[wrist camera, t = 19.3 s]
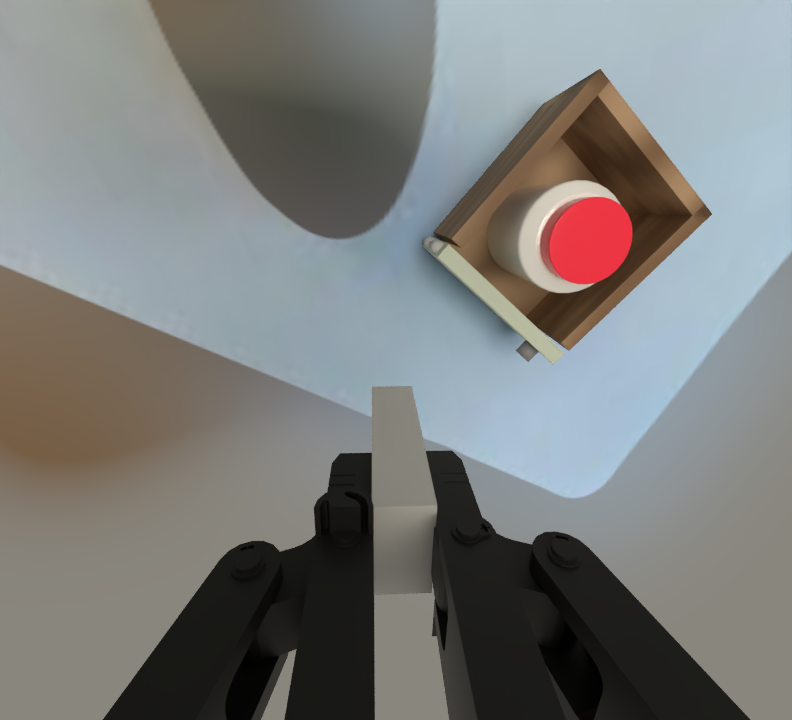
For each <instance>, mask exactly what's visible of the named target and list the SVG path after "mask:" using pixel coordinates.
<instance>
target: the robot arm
mask: <svg viewBox="0 0 792 720" xmlns="http://www.w3.org/2000/svg"><path fill="white" fill-rule="evenodd" d="M314 515H315V531H316V535H315V536H314V537H313V538H312V539H311V540H309V541H307V542H306V543H304V544H302V545H300V546H297V547H295V548H292V549H289V550H285V551H281V552H279V550H277V548H276V547H275V546H274V545H273V544H270V543H267V542H265V541H251V542H247V543H244V544H240V545H238V546H237V547H235V548H233V549H231V550H230V551H228V552H227V554H225V555H224V556H223V557H222V558H221V559H220V561H219V562H218V563H217V565H216V566H215V568H214V569H213V570H212V571H211V573H210V574H209V575H208V577H207V578H206V580H205V581H204V583H203V584H202V585H201V586H200V588H199V589H198V591H197V592H196V593H195V595H194V596H193V597H192V599H191V600H190V601H189V603H188V604H187V606H186V607H185V609H184V610H183V611H182V612H181V614H180V615H179V616H178V618H177V619H176V621H175V622H174V624H173V625H172V626H171V627H170V629H169V630H168V631H167V633H166V634H165V636H164V637H163V638H162V640H161V641H160V642H159V644H158V645H157V646H156V648H155V649H154V651H153V652H152V653H151V655H150V656H149V657H148V659H147V660H146V662H145V663H144V664H143V666H142V667H141V668H140V670H139V671H138V673H137V674H136V675H135V677H134V678H133V679H132V681H131V682H130V683H129V685H128V686H127V687H126V689H125V690H124V692H123V693H122V694H121V696H120V697H119V698H118V700H117V701H116V702H115V704H114V705H113V707H112V708H111V709H110V711H109V712H108V713H107V715H106V716H105V717H104V719H103V720H261V718H262V716H263V713H264V711H265V708H266V706H267V704H268V701H269V699H270V697H271V694H272V692H273V690H274V687H275V685H276V682H277V680H278V678H279V675H280V673H281V671H282V668H283V666H284V663H285V661H286V659H287V656H288V652H290V651H292V650H295V649H297V650H296V656H295V661H294V667H293V673H292V679H291V685H290V691H289V696H288V703H287V709H286V714H285V720H375V711H374V710H375V708H374V707H375V701H374V700H375V698H374V697H375V696H374V595H380V594H407V593H408V594H409V593H431V591H432V582H433V588H434V595H435V603H434V604H435V605H434V618H433V632H432V636H437V638H438V645H439V652H440V658H441V666H442V672H443V680H444V686H445V693H446V700H447V707H448V714H449V720H750V719H749V718H748V717H747V716H746V715H745V714H744V713H743V711H742V710H741V709H740V708H739V707H738V706H737V705H736V704H735V703H734V702H733V701H732V700H731V699H730V698H729V697H728V695H727V694H726V693H725V692H724V691H723V690H722V689H721V688H720V687H719V686H718V685H717V684H716V683H715V682H714V681H713V680H712V678H711V677H710V676H708V674H707V673H706V672H705V671H704V670H703V669H702V668H701V667H700V666H699V665H698V664H697V662H695V660H693V658H691V656H690V655H689V654H688V653H687V652H686V651H685V650H684V649H683V648H682V647H681V646H680V644H679V643H678V642H677V641H676V640H675V639H674V638H673V637H672V636H671V635H670V634H669V633H668V632H667V631H666V630H665V629H664V627H663V626H662V625H661V624H660V623H659V622H658V621H657V620H656V619H655V618H654V617H653V616H652V615H651V614H650V613H649V611H648V610H647V609H646V608H645V607H644V606H643V605H642V604H641V603H640V602H639V601H638V600H637V599H636V598H635V597H634V596H633V595H632V593H631V592H630V591H629V590H628V589H627V588H626V587H625V586H624V585H623V584H622V583H621V582H620V581H619V580H618V579H617V578H616V576H615V575H613V573H612V572H611V571H610V570H609V569H608V568H607V567H606V566H605V565H604V564H603V563H602V562H601V560H600V559H599V558H598V557H597V556H596V555H595V554H594V553H593V552H592V551H591V550H590V549H589V548H588V547H587V546H586V545H584V544H583V543H582V542H581V541H580V540H578V539H576V538H574V537H572V536H570V535H568V534H564V533H559V532H545V533H543V534H540V535H538V536H537V537H536V538H535V540H534V542H533V544H532V545H531V544H527V543H522V542H518V541H514V540H511V539H508V538H505V537H503V536H501V535H499V534H497V533H496V532H495V530H494V529H493V527H492V525H491V524H490V523H489V522H488V521H486V520H485V519H483V518H482V516H481V513H480V510H479V508H478V505H477V502H476V499H475V496H474V493H473V491H472V488H471V485H470V483H469V479H468V476H467V474H466V471H465V468H464V465H463V462H462V460H461V459H460V458H459V457H458V456H457V455H456V454H455V453H454V452H453V451H425V446H424V442H423V437H422V432H421V428H420V423H419V418H418V414H417V409H416V405H415V400H414V395H413V391H412V386H398V387H372V453H341V454H339V456H338V457H337V458H336V459H335V461H334V462H333V463H332V467H331V473H330V479H329V487H328V492H327V493H325V494H324V495H323V496H322V497H320V498H319V499H318V500H317V502H316V504H315V507H314Z"/></svg>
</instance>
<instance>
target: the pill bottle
mask: <svg viewBox="0 0 792 720" xmlns="http://www.w3.org/2000/svg"><path fill="white" fill-rule="evenodd" d="M632 231H633V230H632V224H631V220H630V218H629V215H628V213H627V212H626V210H625V209H624V208H623V207H622V206H621V204H620V202H619V201H618V200H617V198H616V197H615V195H614V194H613V193H612V192H610V191H609V190H608V189H607V188H605V187H604V186H602V185H600V184H598V183H595V182H591V181H587V180H572V181H565V182H558V183H551V184H544V185H537V186H531V187H525V188H522V189H519V190H517V191H514V192H513V193H511V194H510V195H509V196H508V197H507V198H506V199H505V200H504V201H503V202H502V204H501V205H500V206H499V207H498V208H497V209H496V210H495V212H494V213H493V214H492V216H491V218H490V222H489V225H488V230H487V243H488V248H489V251H490V254H491V256H492V258H493V260H494V261H495V262H496V263H497V265H498V266H499V267H500V268H502V269H503V270H504V271H506V272H508V273H510V274H512V275H514V276H517V277H519V278H521V279H523V280H525V281H527V282H529V283H532V284H534V285H536V286H538V287H540V288H542V289H544V290H547V291H550V292H555V293H572V292H577V291H580V290H583V289H585V288H588V287H590V286H591V285H593V284H595V283H596V282H599V281H601V280H603V279H605V278H607V277H608V276H610V275H611V274H612V273H614V272H615V271H616V270H617V269H618V268H619V266H620V265H621V264H622V263H623V261H624V260H625V258H626V256H627V254H628V252H629V249H630V247H631V242H632Z"/></svg>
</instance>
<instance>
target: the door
mask: <svg viewBox="0 0 792 720" xmlns="http://www.w3.org/2000/svg"><path fill="white" fill-rule="evenodd" d="M423 244H424V246H423V247H424V248H425V249H426V250H427V251H428V252H429V253H430V254H431V255H433V256H434V257H435V258H436V259H437V260H438V261H439V262H440V263H441V264H442V265H443V266H444V267H446V268H447V269H448V270H449V271H450V272H451V273H452V274H453V275H454V276H455V277H456V278H458V279H459V280H460V281H461V282H462V283H463V284H464V285H465V286H466V287H467V288H468V289H470V290H471V291H472V292H473V293H474V294H475V295H476V296H477V297H478V298H479V299H480V300H481V301H483V302H484V303H485V304H486V305H487V306H488V307H489V308H490V309H491V310H492V311H493V312H495V313H496V314H497V315H498V316H499V317H500V318H501V319H502V320H503V321H504V322H505V323H507V324H508V325H509V326H510V327H511V328H512V329H513V330H514V331H515V332H516V333H517V334H519V335H520V336H521V337H522V338H523V339H524V340H526V341H525V342H524V343H523V344H522V345H521V346H520V347H519V348H518V349H517V350H516V351H517V352H518V353H519V354H520V355H521V356H522V357H523V358H524V359H526V360H527V361H528V362H529V361H530V360H531V359H532V358H533V357H534V356H535V355H536V354H537V353H538V352H540V353H541V354H542V355H543V356H544V357H545V358H547V359H548V360H549V361H550V362H551V363H552V364H554V363H555V362H556V361H557V360H558V359H559V358H560V357H561V356H562V355H564V354H565V353H564V352H562V351H561V350H560V349H559V348H558V347H557V346H556V345H555V344H554V343H553V342H552V341H551V340H550V339H549V338H548V337H547V336H545V335H544V334H543V333H542V332H541V331H540V330H539V329H538V328H537V327H536V326H535V325H534V324H533V323H532V322H531V321H530V320H529V319H527V318H526V317H525V316H524V315H523V314H522V313H521V312H520V311H519V310H518V309H517V308H516V307H515V306H514V305H513V304H512V303H511V302H509V301H508V300H507V299H506V298H505V297H504V296H503V295H502V294H501V293H500V292H499V291H498V290H497V289H496V288H495V287H494V286H492V285H491V284H490V283H489V282H488V281H487V280H486V279H485V278H484V277H483V276H482V275H481V274H480V273H479V272H478V271H477V270H476V269H474V268H473V267H472V266H471V265H470V264H469V263H468V262H467V261H466V260H465V259H464V258H463V257H462V256H461V255H460V254H459V253H458V252H456V251H455V250H454V249H453V248H452V247H451V246H450V245H449V244H447V243H445V242H443V241H441V240H438V239H436V238H434V237H429V236H428V237H425V238H424V240H423Z"/></svg>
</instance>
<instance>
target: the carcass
mask: <svg viewBox="0 0 792 720" xmlns="http://www.w3.org/2000/svg"><path fill="white" fill-rule="evenodd" d="M572 180H587V181H591V182H595V183H598V184H600V185H602V186H604V187H605V188H607V189H608V190H609V191H610V192H612V193H613V194H614V195H615V197H616V198H617V200H618V201H619V202H620V204H621V206H622V207H623V208H624V209H625V210H626V212H627V213H628V215H629V218H630V220H631V224H632V230H633V231H632V242H631V247H630V249H629V252H628V254H627V256H626V258H625V260H624V261H623V263H622V264H621V265H620V266H619V268H618V269H617V270H616V271H615V272H614V273H612V274H611V275H610V276H608V277H607V278H605V279H603V280H601V281H599V282H596V283H595V284H593V285H591V286H590V287H588V288H585V289H583V290H580V291H577V292H572V293H555V292H550V291H547V290H544V289H542V288H540V287H538V286H536V285H534V284H532V283H529V282H527V281H525V280H523V279H521V278H519V277H517V276H514V275H512V274H510V273H508V272H506V271H504V270H503V269H502V268H500V267H499V266H498V265H497V263H496V262H495V261H494V260H493V258H492V256H491V254H490V251H489V248H488V243H487V230H488V225H489V222H490V218H491V216H492V214H493V213H494V212H495V210H496V209H497V208H498V207H499V206H500V205H501V204H502V202H503V201H504V200H505V199H506V198H507V197H508V196H509V195H510V194H511V193H513V192H514V191H517V190H519V189H522V188H525V187H531V186H537V185H544V184H551V183H558V182H565V181H572ZM711 215H712V213H711V212H710V211H709V209H708V208H707V207H706V205H705V204H704V203H703V201H702V200H701V199H700V198H699V196H698V195H697V194H696V192H695V191H694V190H693V188H692V187H691V186H690V185H689V183H688V182H687V181H686V179H685V178H684V177H683V176H682V174H681V173H680V172H679V170H678V169H677V168H676V166H675V165H674V164H673V163H672V161H671V160H670V159H669V157H668V156H667V155H666V153H665V152H664V151H663V150H662V148H661V147H660V146H659V144H658V143H657V142H656V141H655V139H654V138H653V137H652V135H651V134H650V133H649V131H648V130H647V129H646V128H645V126H644V125H643V124H642V122H641V121H640V120H639V119H638V117H637V116H636V115H635V113H634V112H633V111H632V109H631V108H630V107H629V106H628V104H627V103H626V102H625V100H624V99H623V98H622V96H621V95H620V94H619V93H618V91H617V90H616V89H615V87H614V86H613V85H612V84H611V82H610V81H609V80H608V78H607V77H606V76H605V74H604V73H603V72H602V71H601V69H599V70H597V71H596V72H594V73H593V74H591V75H589V76H588V77H586V78H585V79H583V80H581V81H580V82H578V83H576V84H575V85H573V86H572V87H570V88H568V89H567V90H565V91H564V92H562V93H560V94H559V95H557V96H555V97H554V98H552V99H551V100H549V101H547V102H546V103H544V104H543V105H542V106H541V107H540V108H539V110H538V111H537V112H536V113H535V114H534V115H533V117H532V118H531V119H530V120H529V121H528V122H527V124H526V125H525V126H524V127H523V128H522V129H521V131H520V132H519V133H518V134H517V135H516V136H515V138H514V139H513V140H512V141H511V142H510V143H509V145H508V146H507V147H506V148H505V149H504V150H503V152H502V153H501V154H500V155H499V156H498V157H497V159H496V160H495V161H494V162H493V163H492V164H491V166H490V167H489V168H488V169H487V170H486V171H485V173H484V174H483V175H482V176H481V177H480V178H479V180H478V181H477V182H476V183H475V184H474V185H473V187H472V188H471V189H470V190H469V191H468V192H467V194H466V195H465V196H464V197H463V198H462V199H461V201H460V202H459V203H458V204H457V205H456V207H455V208H454V209H453V210H452V211H451V212H450V214H449V215H448V216H447V217H446V218H445V219H444V221H443V222H442V223H441V224H440V225H439V226H438V228H437V229H436V230H435V231H434V233H435V234H436V235H437V236H438V237H439V238H440V239H442V240H443V241H444V242H445V243H447V244H449V245H450V246H451V247H452V248H453V249H454V250H455V251H456V252H458V253H459V254H460V255H461V256H462V257H463V258H464V259H465V260H466V261H467V262H468V263H469V264H470V265H471V266H472V267H473V268H474V269H476V270H477V271H478V272H479V273H480V274H481V275H482V276H483V277H484V278H485V279H486V280H487V281H488V282H489V283H490V284H491V285H492V286H494V287H495V288H496V289H497V290H498V291H499V292H500V293H501V294H502V295H503V296H504V297H505V298H506V299H507V300H508V301H509V302H511V303H512V304H513V305H514V306H515V307H516V308H517V309H518V310H519V311H520V312H521V313H522V314H523V315H524V316H525V317H526V318H527V319H529V320H530V321H531V322H532V323H533V324H534V325H535V326H536V327H537V328H538V329H540V330H541V331H542V332H544V333H545V334H546V335H548V336H549V337H551V338H552V339H553V340H555V341H556V342H558V343H559V344H560V345H562V346H563V347H564V348H566V349H567V350H570V349H571V348H572V347H573V346H575V345H576V344H577V343H578V342H579V341H580V340H581V339H582V338H583V337H584V336H585V335H586V334H587V333H588V332H589V331H590V330H591V329H592V328H593V327H594V326H595V325H597V324H598V323H599V322H600V321H601V320H602V319H603V318H604V317H605V316H606V315H607V314H608V313H609V312H610V311H611V310H612V309H613V308H614V307H615V306H616V305H617V304H619V303H620V302H621V301H622V300H623V299H624V298H625V297H626V296H627V295H628V294H629V293H630V292H631V291H632V290H633V289H634V288H635V287H636V286H637V285H638V284H639V283H641V282H642V281H643V280H644V279H645V278H646V277H647V276H648V275H649V274H650V273H651V272H652V271H653V270H654V269H655V268H656V267H657V266H658V265H659V264H660V263H661V262H662V261H664V260H665V259H666V258H667V257H668V256H669V255H670V254H671V253H672V252H673V251H674V250H675V249H676V248H677V247H678V246H679V245H680V244H681V243H682V242H683V241H684V240H686V239H687V238H688V237H689V236H690V235H691V234H692V233H693V232H694V231H695V230H696V229H697V228H698V227H699V226H700V225H701V224H702V223H703V222H704V221H705V220H706V219H708V218H709V217H710V216H711Z"/></svg>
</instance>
